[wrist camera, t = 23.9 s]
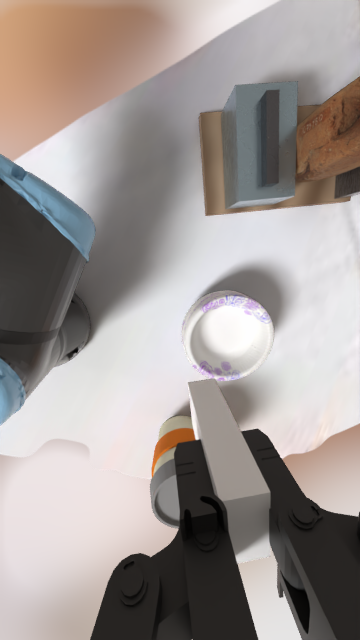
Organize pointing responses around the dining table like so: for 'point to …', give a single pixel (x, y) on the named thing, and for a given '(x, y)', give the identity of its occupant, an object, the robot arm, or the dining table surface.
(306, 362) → the dining table surface
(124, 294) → the dining table surface
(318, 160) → the block
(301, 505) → the robot arm
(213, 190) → the vise base
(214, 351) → the white floral bowl
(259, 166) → the block
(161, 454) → the reusable coffee cup
